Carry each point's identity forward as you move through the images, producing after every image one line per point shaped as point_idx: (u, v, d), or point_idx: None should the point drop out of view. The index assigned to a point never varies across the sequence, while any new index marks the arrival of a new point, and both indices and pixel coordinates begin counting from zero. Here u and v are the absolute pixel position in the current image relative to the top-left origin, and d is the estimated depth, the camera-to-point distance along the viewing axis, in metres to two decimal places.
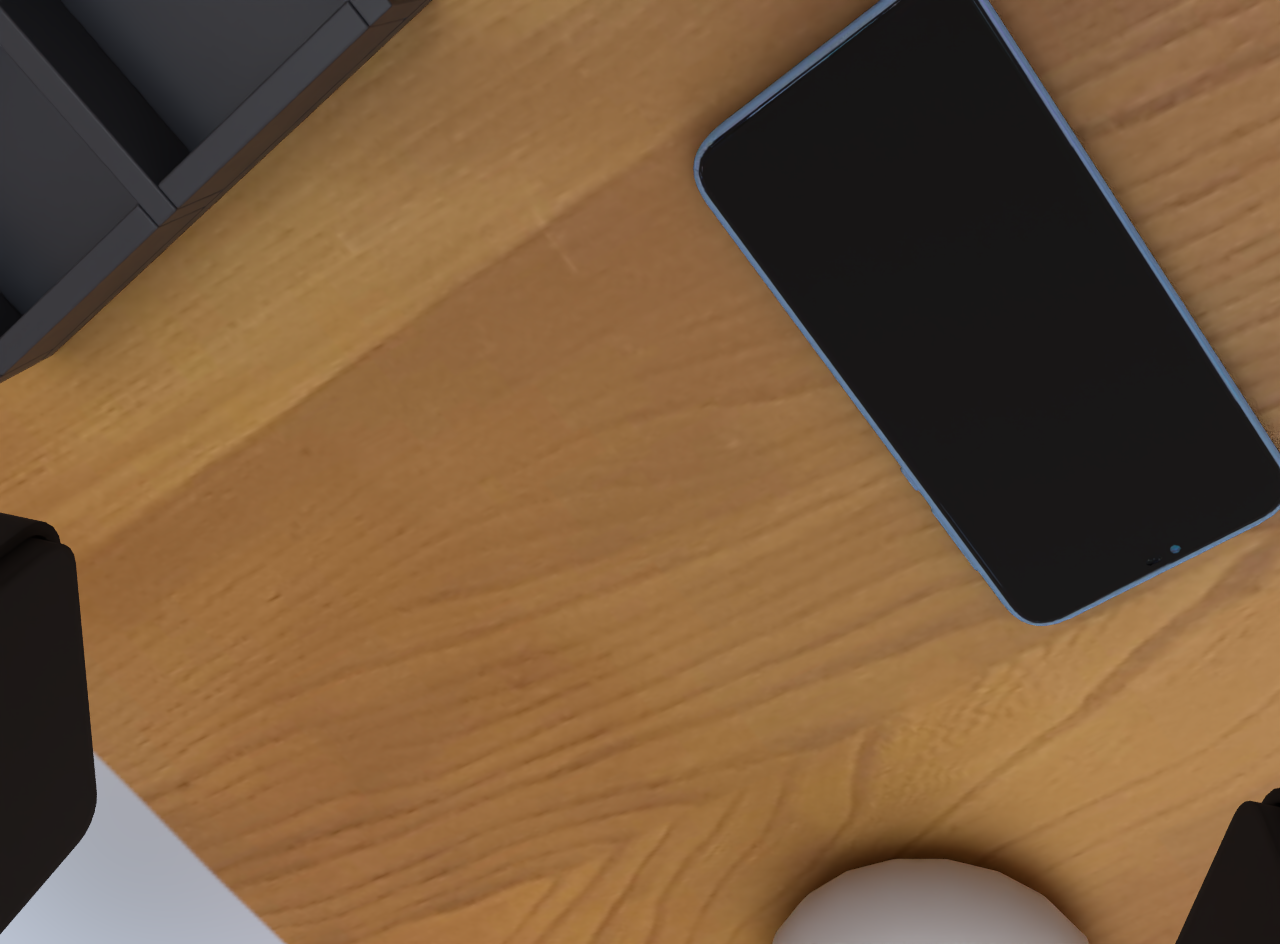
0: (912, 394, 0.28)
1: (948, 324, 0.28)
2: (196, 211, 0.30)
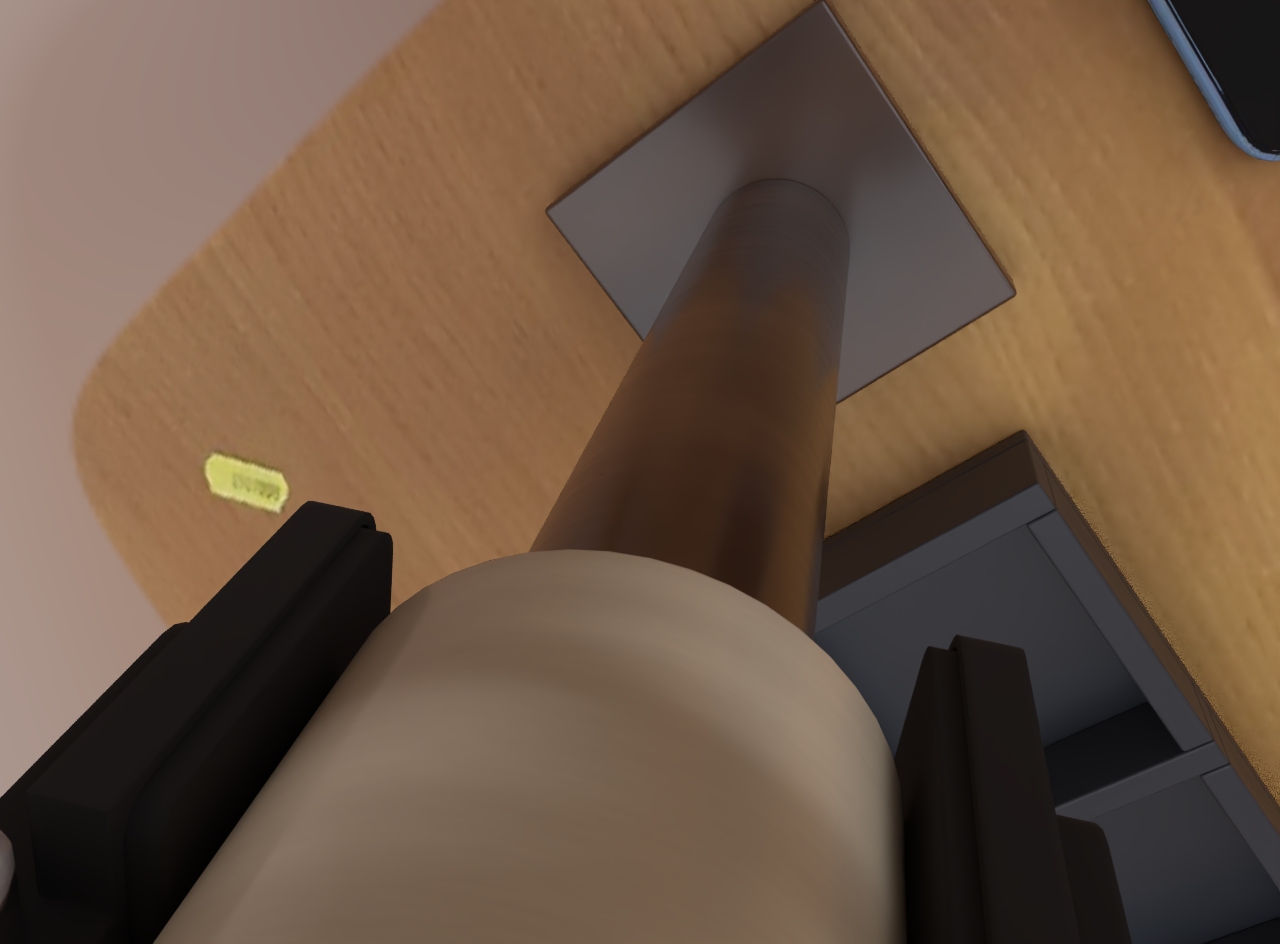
0: None
1: None
2: (1211, 714, 0.27)
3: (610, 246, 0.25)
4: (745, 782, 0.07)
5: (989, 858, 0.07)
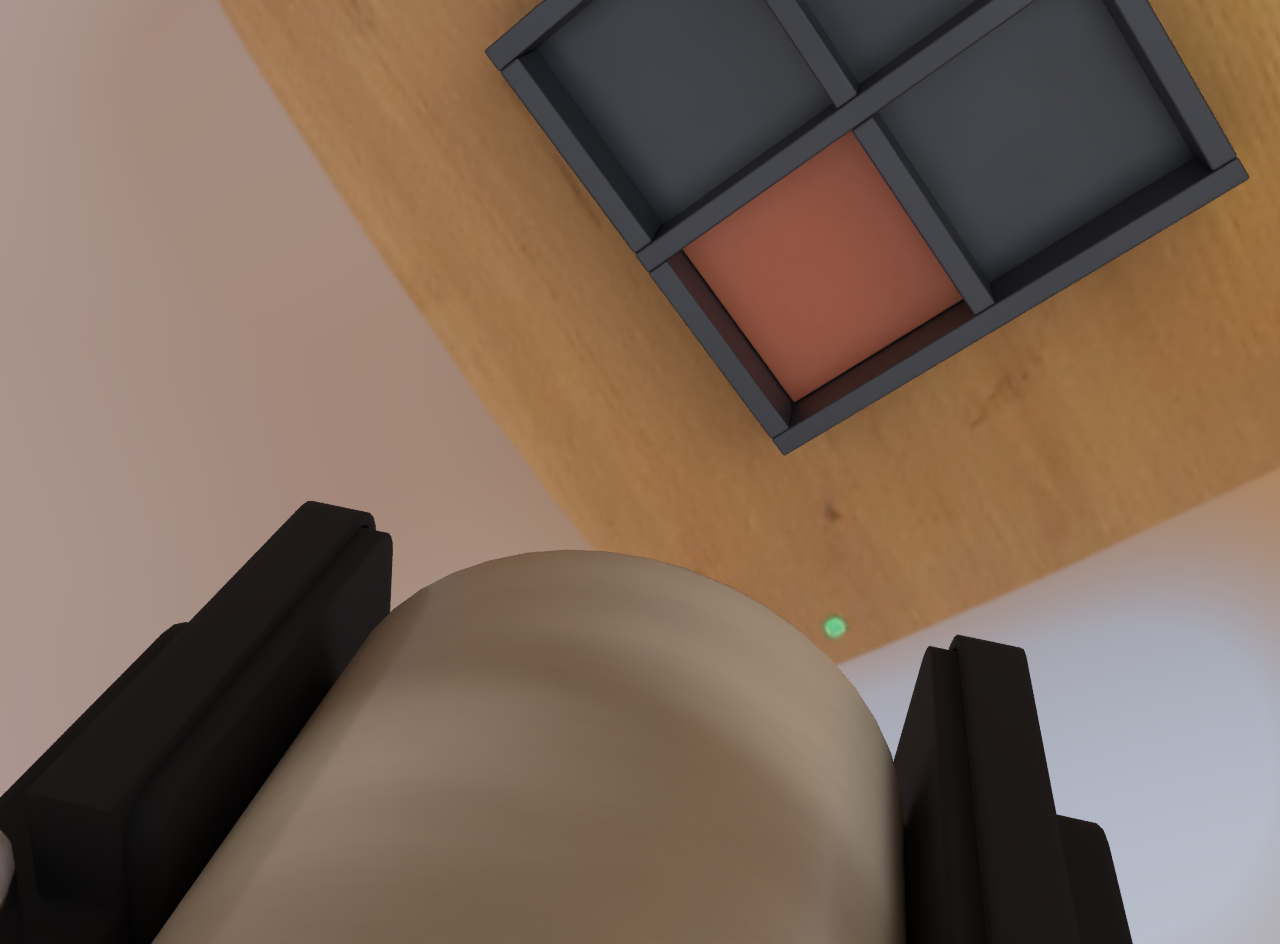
0: None
1: None
2: None
3: None
4: (744, 783, 0.07)
5: (990, 858, 0.07)
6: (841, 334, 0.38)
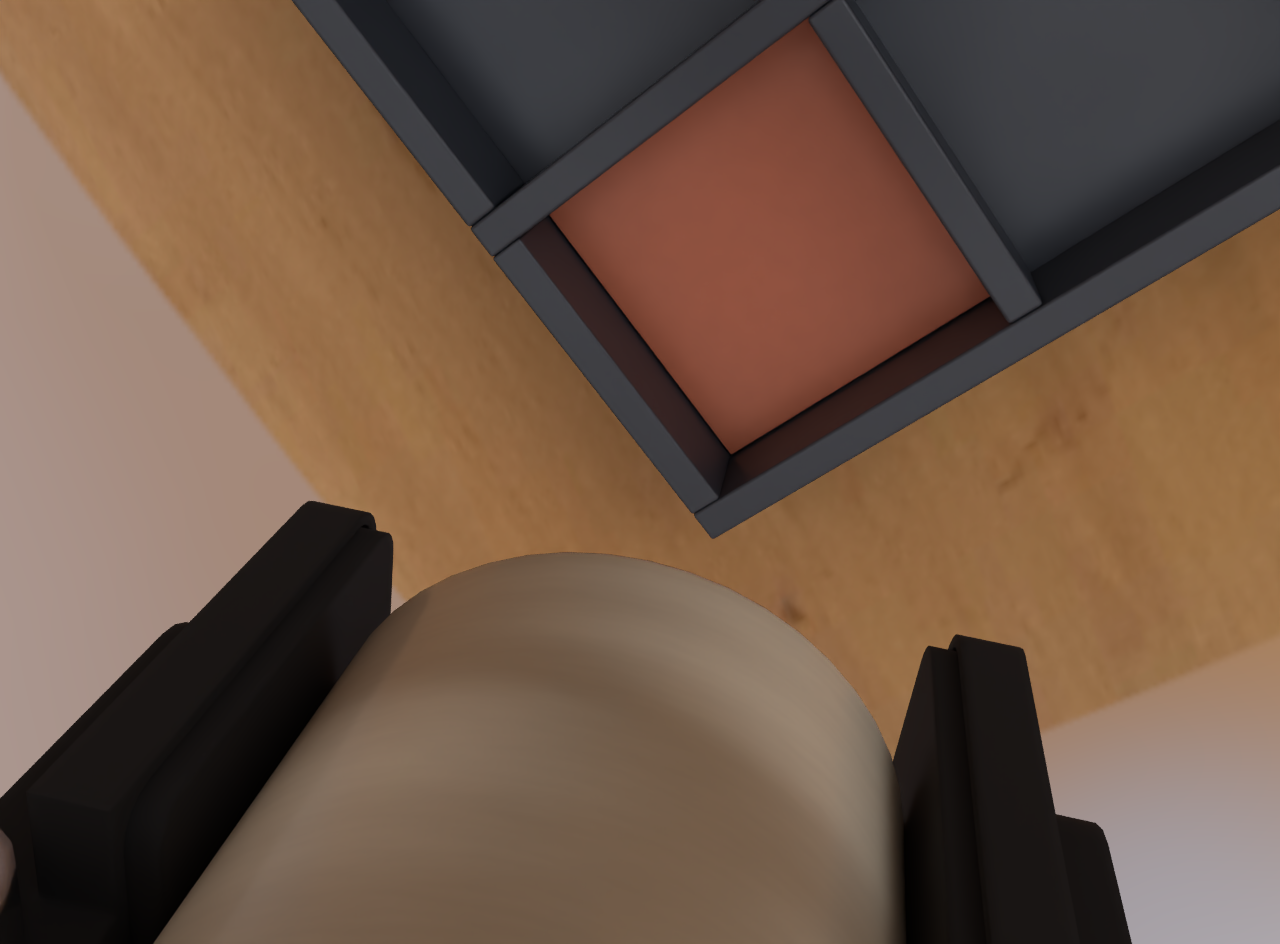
0: None
1: None
2: None
3: None
4: (744, 785, 0.07)
5: (988, 858, 0.07)
6: (800, 352, 0.25)
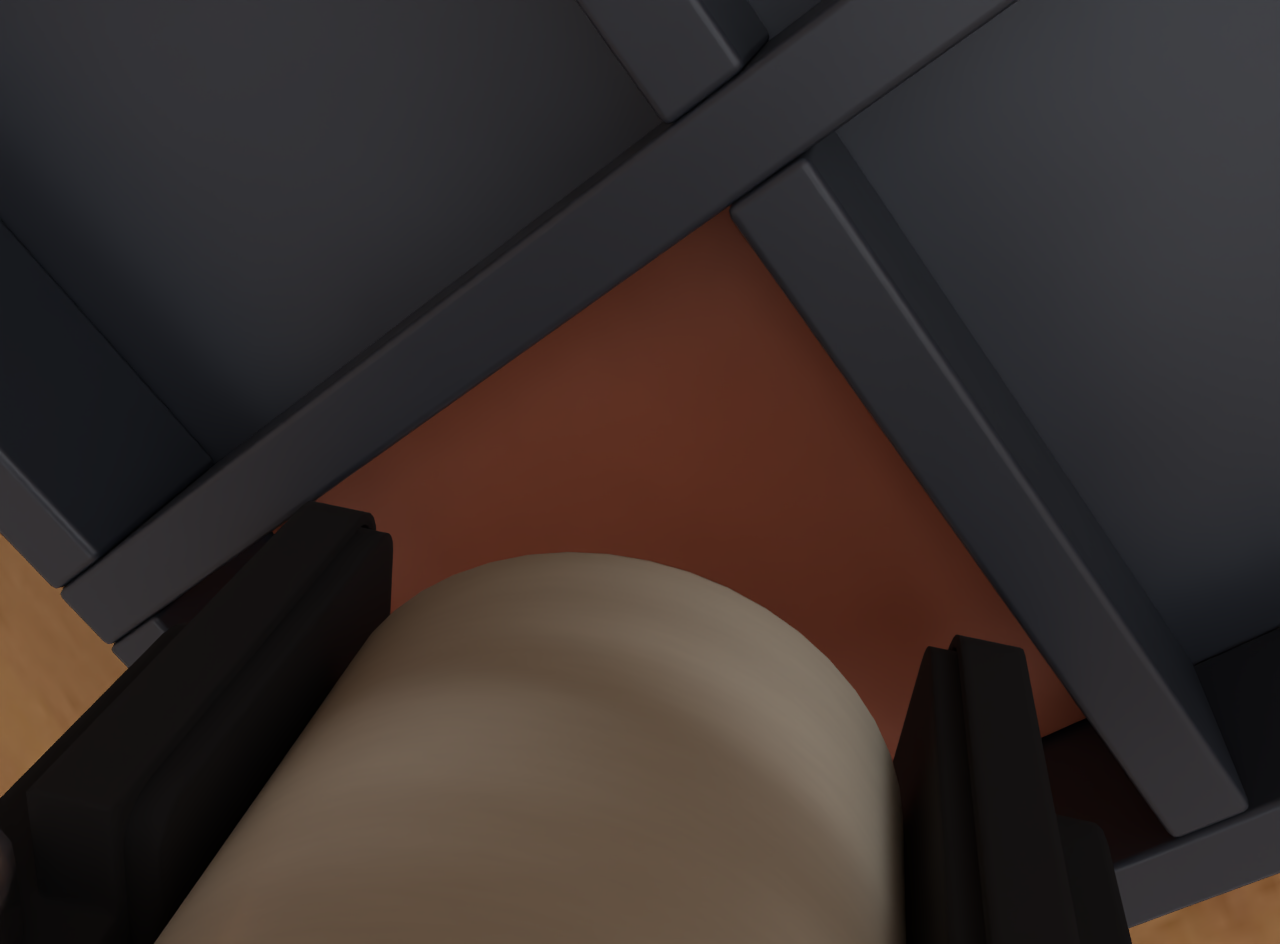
0: None
1: None
2: None
3: None
4: (744, 784, 0.07)
5: (989, 857, 0.07)
6: None
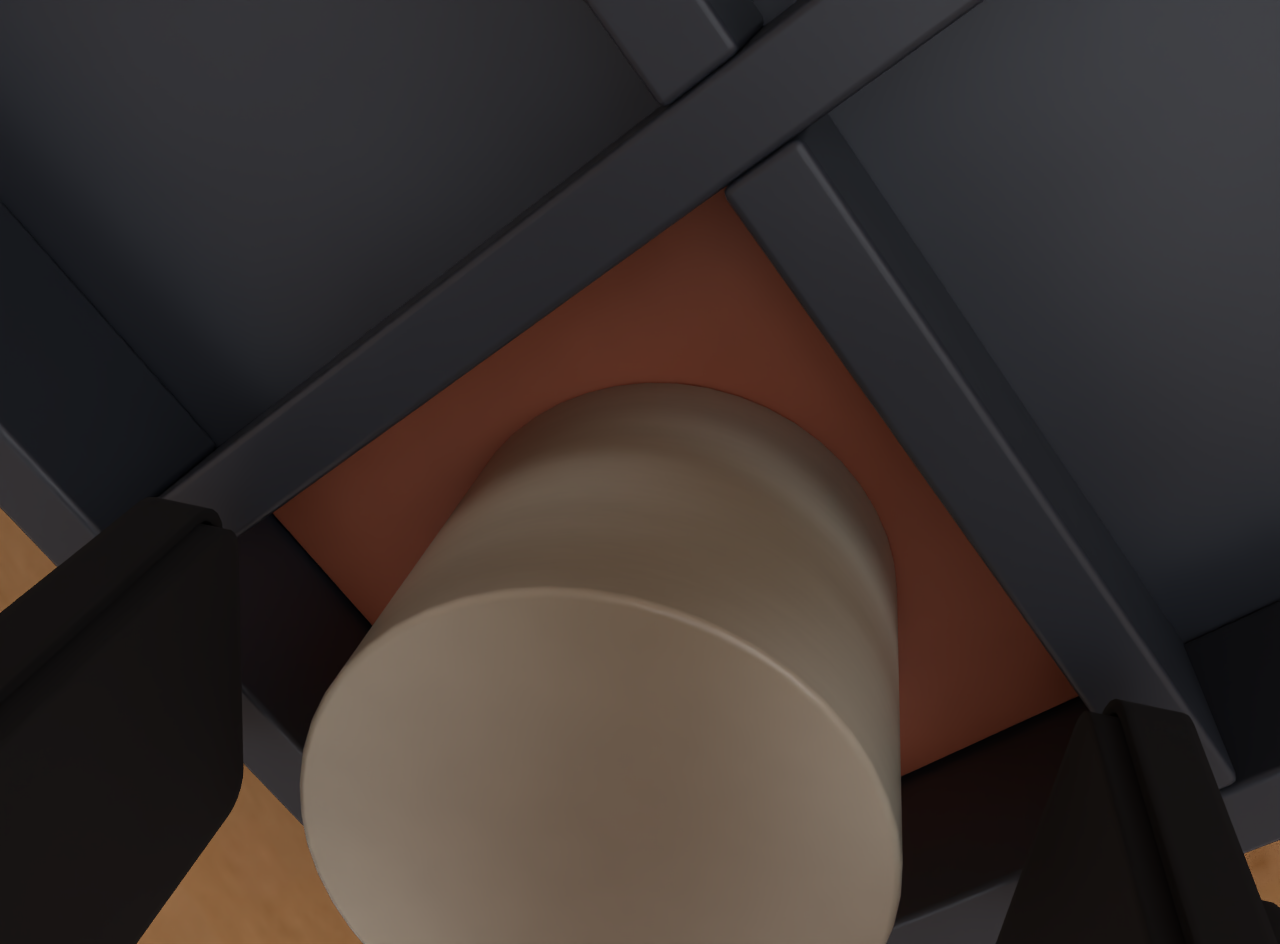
0: None
1: None
2: None
3: None
4: (783, 515, 0.10)
5: None
6: None
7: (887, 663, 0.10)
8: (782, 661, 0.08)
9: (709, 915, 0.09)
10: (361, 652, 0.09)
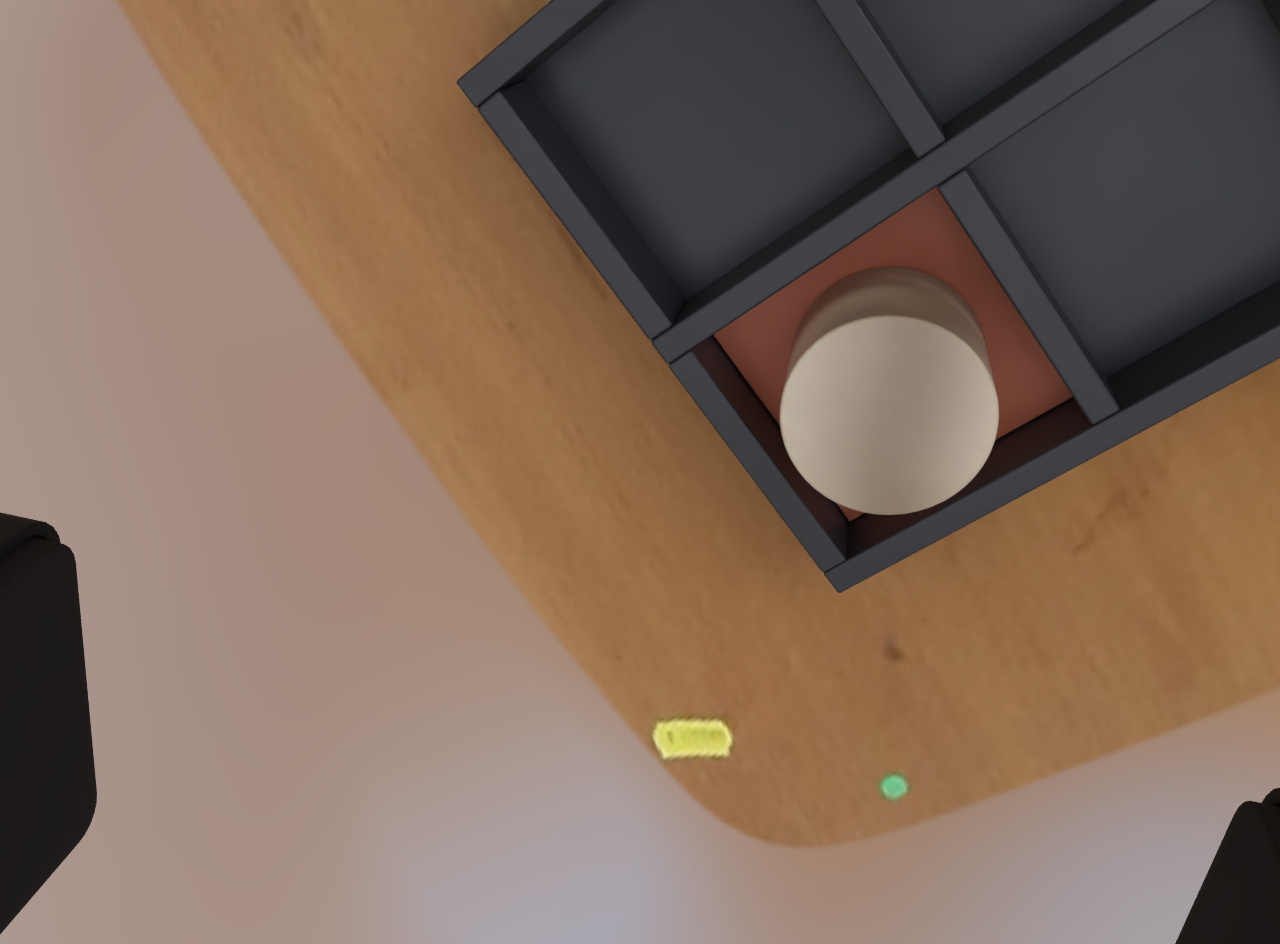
0: None
1: None
2: None
3: None
4: (951, 307, 0.27)
5: None
6: None
7: (989, 362, 0.27)
8: (962, 338, 0.25)
9: (929, 440, 0.26)
10: (815, 342, 0.25)
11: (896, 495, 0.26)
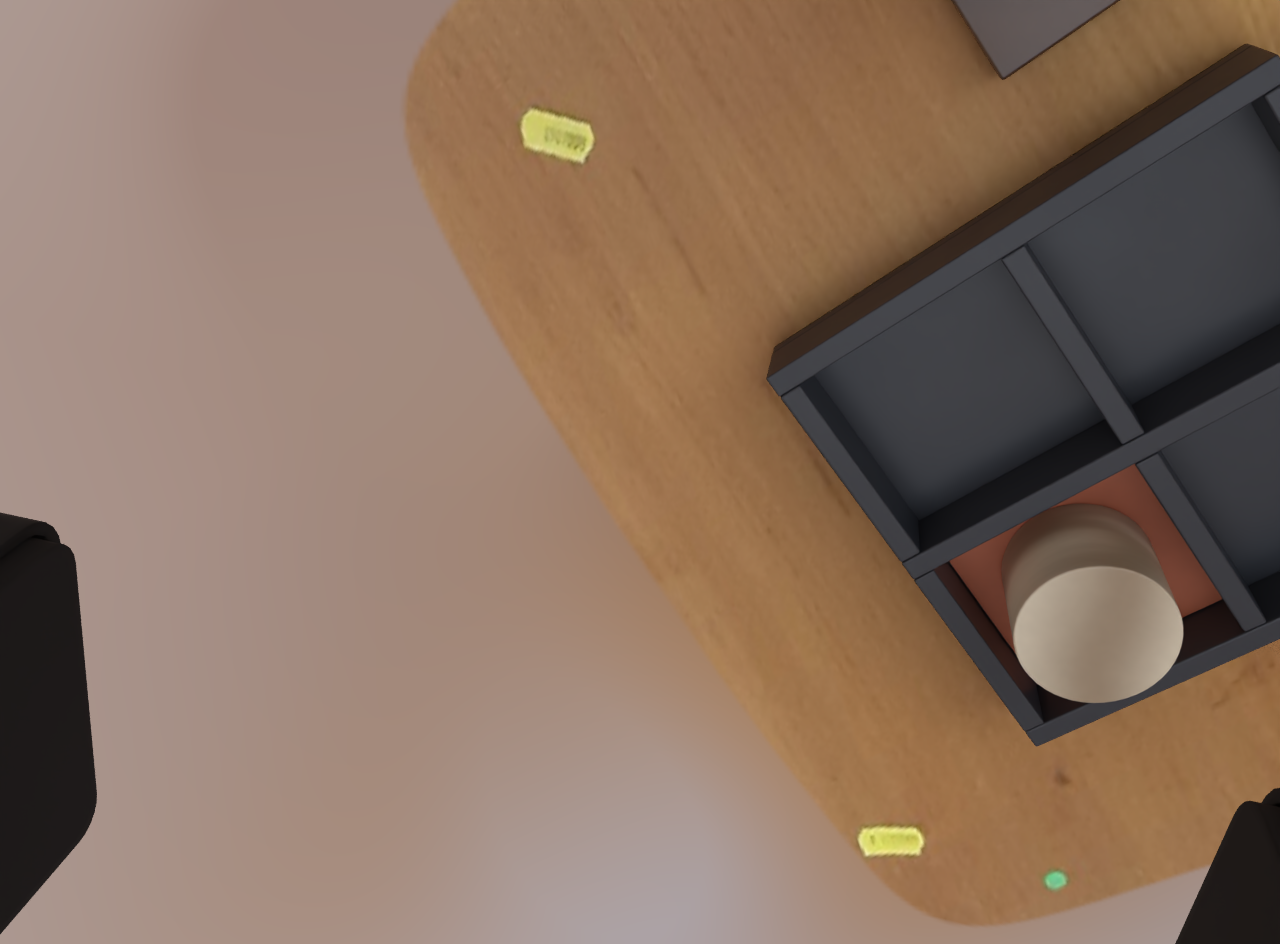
0: None
1: None
2: None
3: None
4: (1140, 546, 0.35)
5: None
6: None
7: None
8: (1158, 583, 0.33)
9: (1128, 652, 0.34)
10: (1046, 582, 0.34)
11: (1100, 689, 0.35)
